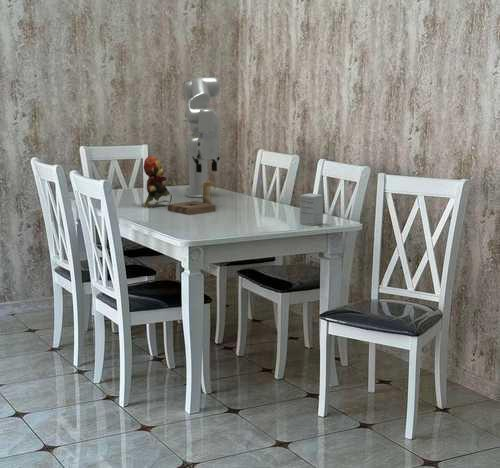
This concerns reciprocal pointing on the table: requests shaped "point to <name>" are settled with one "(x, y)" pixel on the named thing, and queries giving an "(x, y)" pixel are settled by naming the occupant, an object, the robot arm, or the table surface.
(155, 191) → the red green tall figure
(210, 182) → the figurine
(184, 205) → the socket block
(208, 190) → the peg
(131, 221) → the table surface
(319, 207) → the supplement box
